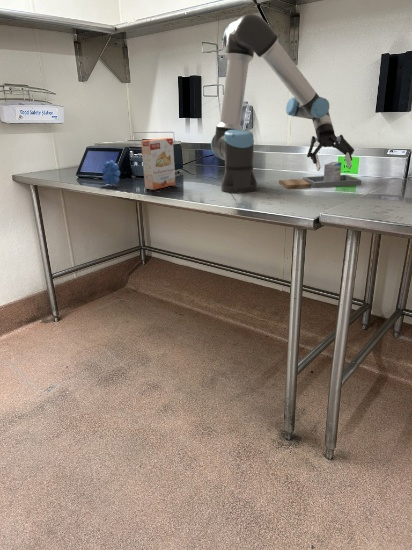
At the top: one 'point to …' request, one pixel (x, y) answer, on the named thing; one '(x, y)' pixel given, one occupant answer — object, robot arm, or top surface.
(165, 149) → the cracker box
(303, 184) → the walnut board
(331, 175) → the medicine box
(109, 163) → the grapes
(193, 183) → the top surface
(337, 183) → the bin
